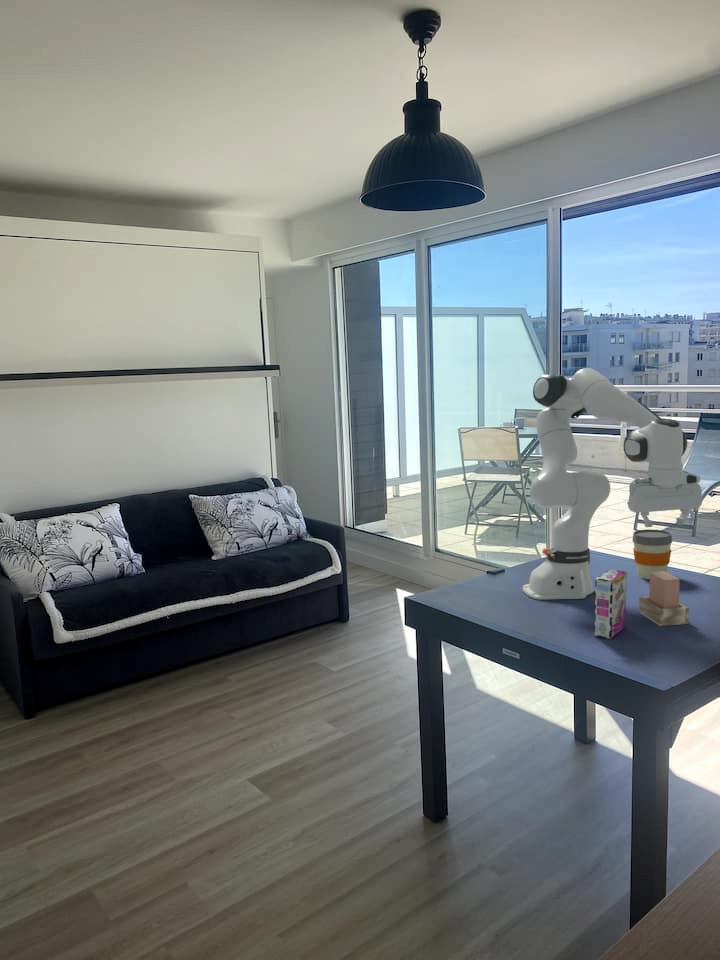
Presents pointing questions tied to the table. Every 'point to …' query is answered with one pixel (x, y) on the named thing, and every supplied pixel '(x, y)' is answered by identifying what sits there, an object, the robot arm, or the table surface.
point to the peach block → (664, 590)
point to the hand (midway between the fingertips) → (664, 525)
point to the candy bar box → (610, 603)
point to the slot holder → (663, 613)
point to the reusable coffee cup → (651, 551)
